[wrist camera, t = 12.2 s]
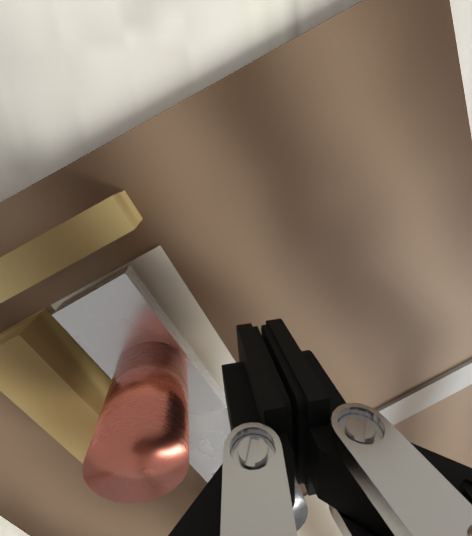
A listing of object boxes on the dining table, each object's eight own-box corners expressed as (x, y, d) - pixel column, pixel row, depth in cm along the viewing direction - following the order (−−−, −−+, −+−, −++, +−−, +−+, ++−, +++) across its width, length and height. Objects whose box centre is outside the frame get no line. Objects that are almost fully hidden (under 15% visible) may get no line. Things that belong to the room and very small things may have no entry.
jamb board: (229, 660, 25) (234, 713, 23) (-231, 335, 11) (-347, 382, 9) (523, 508, 24) (561, 547, 22) (428, -34, 11) (501, -92, 8)
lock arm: (306, 487, 18) (352, 612, 13) (248, 518, 18) (272, 654, 13) (142, 255, 11) (108, 324, 6) (54, 305, 12) (-44, 410, 7)
